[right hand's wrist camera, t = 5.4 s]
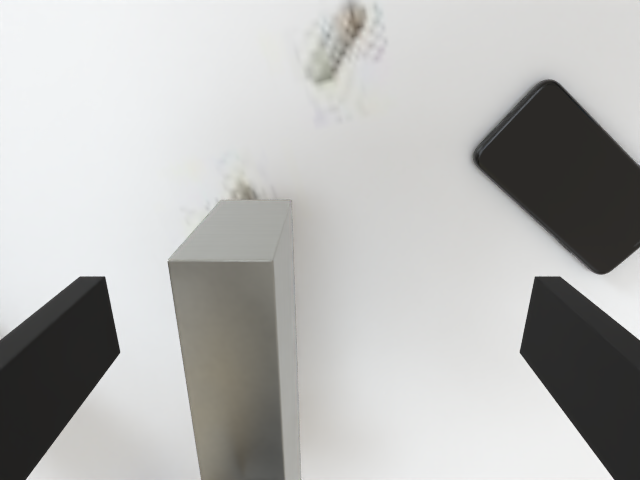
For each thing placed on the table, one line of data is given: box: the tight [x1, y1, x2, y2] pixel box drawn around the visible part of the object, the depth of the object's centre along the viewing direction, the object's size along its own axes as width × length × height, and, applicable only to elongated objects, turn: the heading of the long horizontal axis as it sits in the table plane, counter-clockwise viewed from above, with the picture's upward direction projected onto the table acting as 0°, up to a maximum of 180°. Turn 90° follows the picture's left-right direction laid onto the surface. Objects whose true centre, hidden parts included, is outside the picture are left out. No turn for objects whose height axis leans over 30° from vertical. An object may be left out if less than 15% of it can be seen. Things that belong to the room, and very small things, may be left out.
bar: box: [168, 200, 301, 480], centre depth 26 cm, size 25×4×9 cm, turn 0°
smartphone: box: [473, 79, 640, 275], centre depth 32 cm, size 8×1×16 cm
